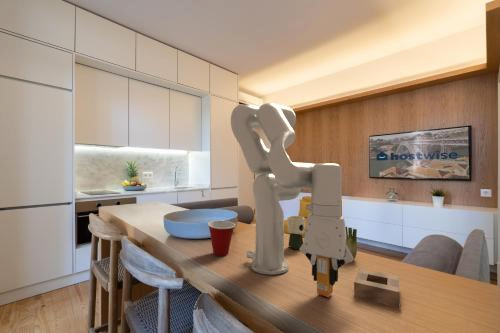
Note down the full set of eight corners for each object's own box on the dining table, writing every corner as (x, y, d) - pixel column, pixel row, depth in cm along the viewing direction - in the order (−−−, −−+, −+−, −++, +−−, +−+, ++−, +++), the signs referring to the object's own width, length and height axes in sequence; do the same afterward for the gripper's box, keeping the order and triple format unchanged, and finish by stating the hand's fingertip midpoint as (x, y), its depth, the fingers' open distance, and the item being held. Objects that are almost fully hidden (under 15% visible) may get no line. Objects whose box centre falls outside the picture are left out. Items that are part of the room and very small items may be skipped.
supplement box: (320, 288, 65) (321, 251, 65) (333, 292, 62) (334, 254, 62) (315, 293, 62) (316, 254, 62) (328, 298, 60) (329, 258, 60)
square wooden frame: (354, 297, 62) (354, 281, 62) (359, 282, 70) (359, 268, 70) (399, 309, 57) (399, 292, 57) (399, 291, 65) (399, 276, 65)
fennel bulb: (358, 261, 87) (358, 228, 87) (347, 262, 85) (347, 228, 86) (347, 255, 92) (347, 224, 93) (337, 257, 91) (337, 225, 91)
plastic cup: (221, 261, 86) (222, 227, 86) (201, 254, 92) (201, 223, 93) (240, 253, 94) (241, 222, 95) (221, 247, 101) (221, 219, 101)
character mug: (299, 253, 95) (300, 220, 95) (283, 250, 99) (283, 218, 99) (307, 246, 104) (308, 216, 105) (292, 243, 108) (292, 214, 108)
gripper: (290, 209, 63) (289, 278, 63) (358, 216, 55) (357, 297, 55) (300, 205, 70) (299, 268, 70) (362, 212, 61) (361, 284, 61)
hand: (324, 280), depth 62 cm, fingers closed on supplement box, 3 cm apart
